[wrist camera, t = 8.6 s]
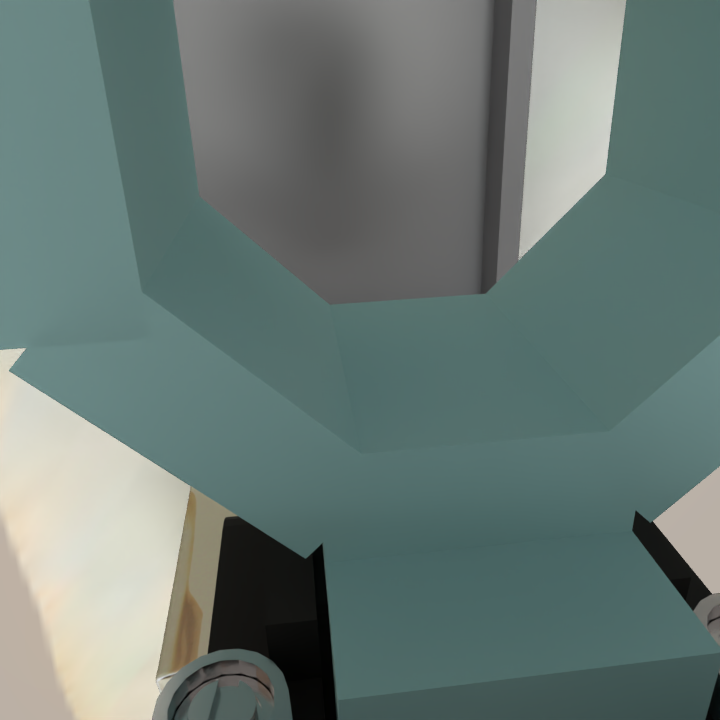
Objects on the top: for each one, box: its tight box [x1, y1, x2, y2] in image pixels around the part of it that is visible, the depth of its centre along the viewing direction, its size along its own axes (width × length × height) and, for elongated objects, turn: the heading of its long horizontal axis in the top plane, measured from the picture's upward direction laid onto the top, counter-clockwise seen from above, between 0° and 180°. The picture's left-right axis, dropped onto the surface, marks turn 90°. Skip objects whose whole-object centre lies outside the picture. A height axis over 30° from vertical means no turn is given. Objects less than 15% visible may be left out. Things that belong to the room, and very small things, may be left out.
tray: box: [173, 0, 537, 305], centre depth 23 cm, size 18×14×2 cm
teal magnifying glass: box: [0, 0, 720, 720], centre depth 7 cm, size 12×8×6 cm, turn 2°
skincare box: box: [156, 487, 237, 693], centre depth 25 cm, size 6×4×12 cm
